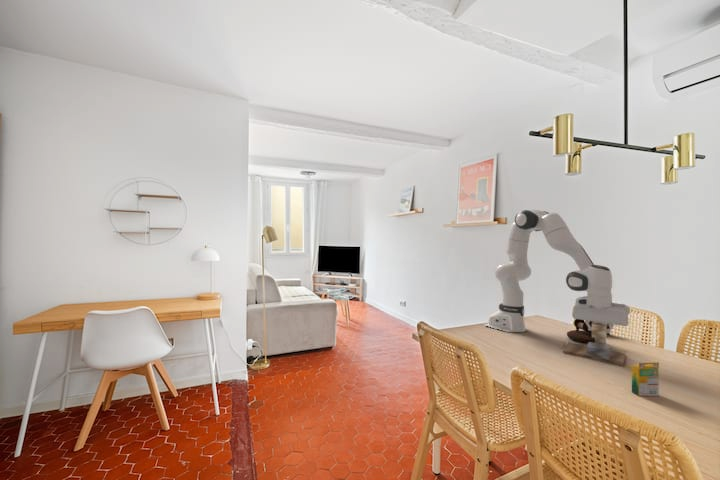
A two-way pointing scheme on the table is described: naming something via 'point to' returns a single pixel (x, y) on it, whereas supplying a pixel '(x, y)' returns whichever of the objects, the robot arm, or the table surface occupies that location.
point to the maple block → (599, 330)
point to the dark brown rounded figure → (579, 334)
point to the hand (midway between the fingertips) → (599, 331)
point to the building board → (583, 353)
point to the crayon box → (645, 379)
